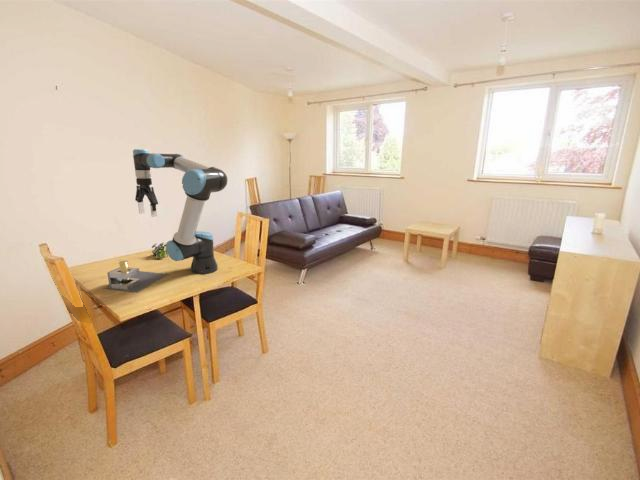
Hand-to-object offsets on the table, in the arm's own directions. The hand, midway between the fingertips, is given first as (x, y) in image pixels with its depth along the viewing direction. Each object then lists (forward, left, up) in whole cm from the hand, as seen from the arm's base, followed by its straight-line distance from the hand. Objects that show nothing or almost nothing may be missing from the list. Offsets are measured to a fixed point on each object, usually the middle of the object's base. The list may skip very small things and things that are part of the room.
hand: (147, 214), depth 180 cm
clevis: (-7, +30, -31) cm, 44 cm away
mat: (-8, +23, -32) cm, 40 cm away
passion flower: (+7, -17, -32) cm, 37 cm away
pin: (-7, +30, -31) cm, 44 cm away
